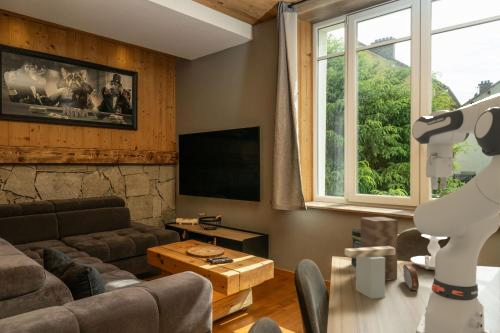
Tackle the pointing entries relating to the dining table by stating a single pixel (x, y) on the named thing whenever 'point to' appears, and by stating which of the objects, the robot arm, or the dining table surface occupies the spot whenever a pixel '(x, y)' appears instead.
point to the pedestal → (371, 276)
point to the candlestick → (432, 248)
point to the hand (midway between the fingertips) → (439, 189)
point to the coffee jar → (356, 242)
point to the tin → (410, 277)
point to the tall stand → (381, 239)
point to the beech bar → (369, 251)
